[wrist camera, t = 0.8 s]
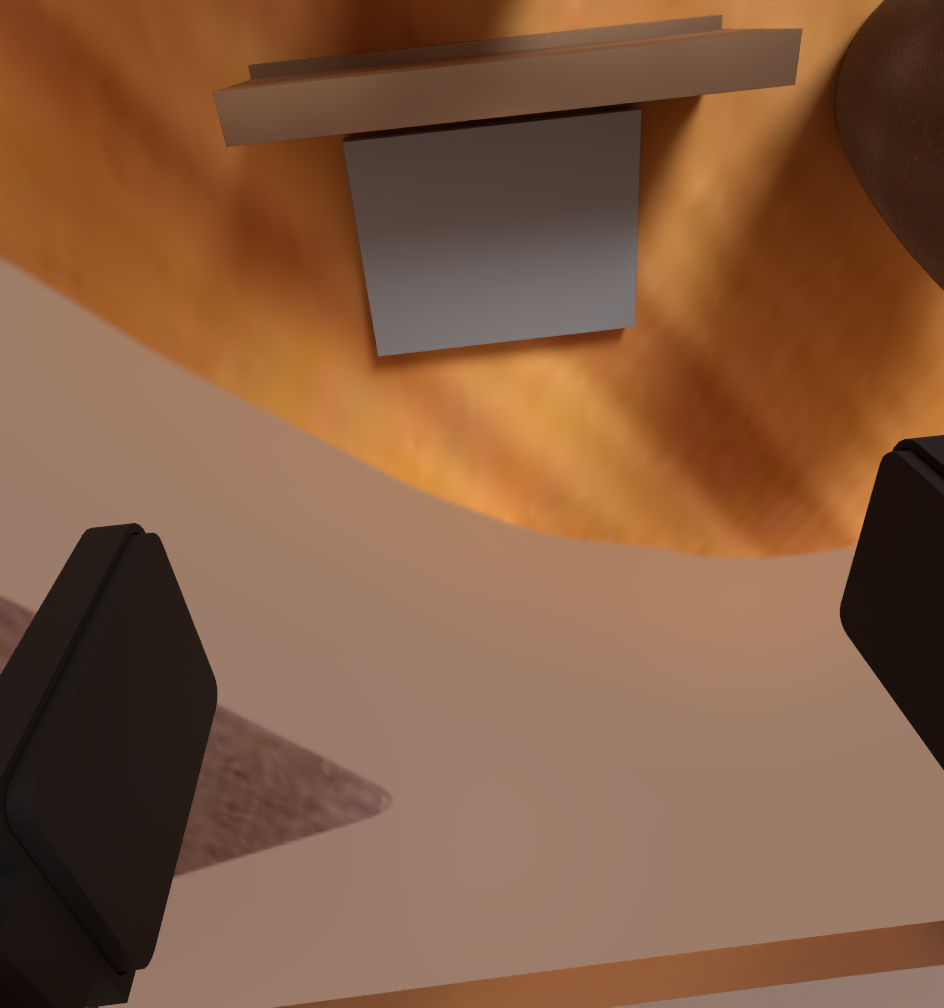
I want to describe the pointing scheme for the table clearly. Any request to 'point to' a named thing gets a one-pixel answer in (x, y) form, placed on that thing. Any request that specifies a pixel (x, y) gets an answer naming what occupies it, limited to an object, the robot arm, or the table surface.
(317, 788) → the table surface
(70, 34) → the table surface
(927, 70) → the plant pot
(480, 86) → the walnut screen
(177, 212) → the table surface
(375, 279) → the slate mat
